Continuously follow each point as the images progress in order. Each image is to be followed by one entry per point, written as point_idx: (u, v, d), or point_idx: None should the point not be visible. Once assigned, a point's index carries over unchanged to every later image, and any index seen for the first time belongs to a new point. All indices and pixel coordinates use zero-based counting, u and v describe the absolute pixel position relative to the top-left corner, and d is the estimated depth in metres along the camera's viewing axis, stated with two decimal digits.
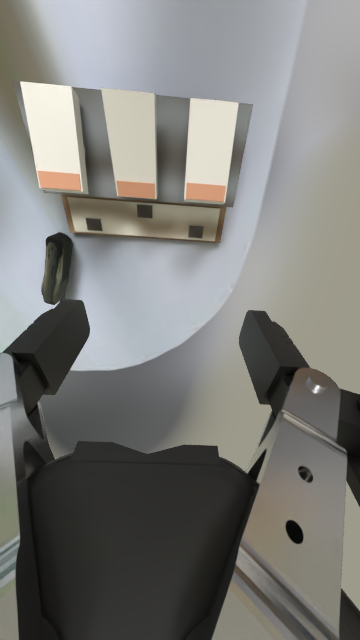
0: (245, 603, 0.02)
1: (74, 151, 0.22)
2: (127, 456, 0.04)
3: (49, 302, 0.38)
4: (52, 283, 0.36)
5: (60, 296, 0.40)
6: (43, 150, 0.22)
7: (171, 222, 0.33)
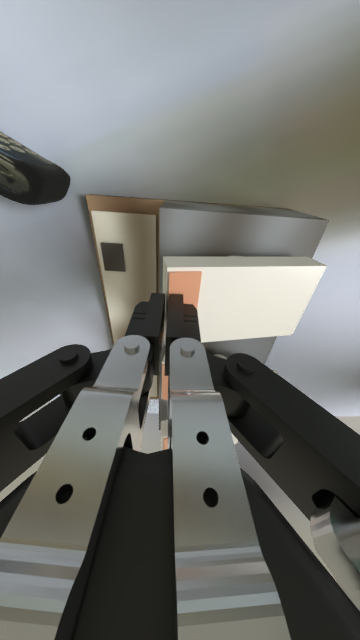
0: (245, 603, 0.02)
1: (223, 335, 0.13)
2: (127, 455, 0.04)
3: None
4: None
5: None
6: (233, 287, 0.11)
7: None
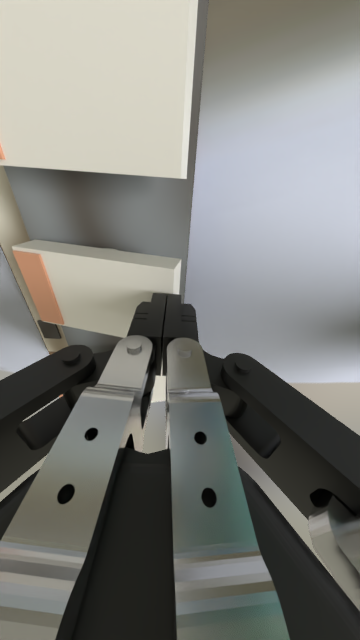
0: (245, 603, 0.02)
1: (50, 154, 0.08)
2: (127, 456, 0.04)
3: None
4: None
5: None
6: (8, 5, 0.06)
7: None
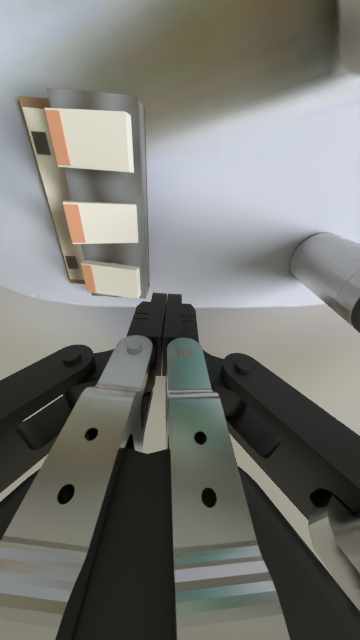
0: (245, 603, 0.02)
1: (86, 164, 0.23)
2: (127, 455, 0.04)
3: None
4: None
5: None
6: (78, 124, 0.21)
7: None
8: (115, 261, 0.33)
